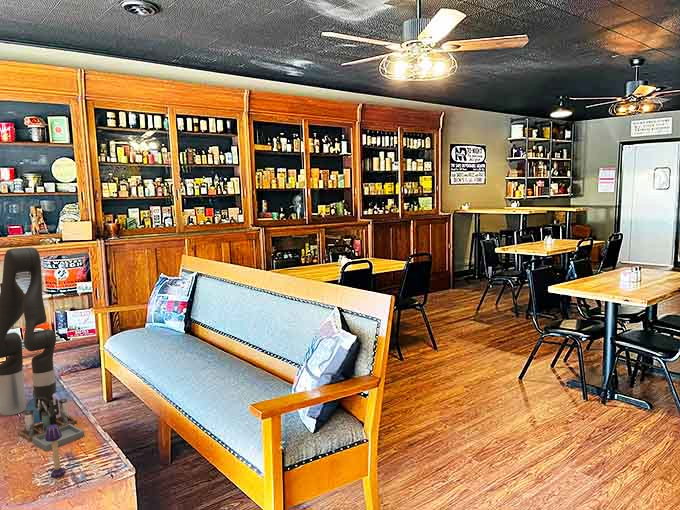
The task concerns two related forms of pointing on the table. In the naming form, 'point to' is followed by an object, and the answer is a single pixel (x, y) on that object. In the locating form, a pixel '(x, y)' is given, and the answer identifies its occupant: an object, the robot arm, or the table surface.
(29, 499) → the table surface
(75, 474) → the table surface
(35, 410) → the perfume bottle
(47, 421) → the cylinder
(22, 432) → the rack
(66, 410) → the canister
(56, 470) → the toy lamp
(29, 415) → the glass vial
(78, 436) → the dish
